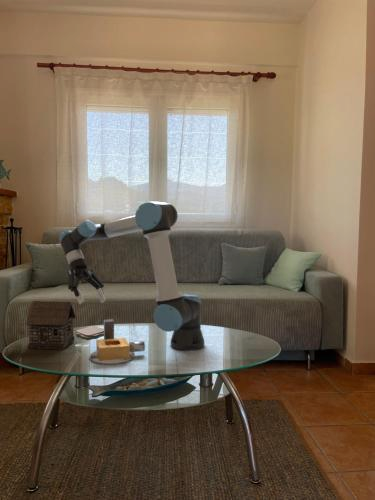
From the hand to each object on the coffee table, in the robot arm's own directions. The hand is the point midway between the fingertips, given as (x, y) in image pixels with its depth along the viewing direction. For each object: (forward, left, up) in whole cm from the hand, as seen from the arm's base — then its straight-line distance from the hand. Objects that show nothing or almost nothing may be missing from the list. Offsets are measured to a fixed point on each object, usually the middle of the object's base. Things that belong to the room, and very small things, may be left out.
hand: (93, 302), depth 188 cm
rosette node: (-17, +13, -19) cm, 29 cm away
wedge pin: (-8, +2, -19) cm, 21 cm away
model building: (+18, +5, -20) cm, 27 cm away
